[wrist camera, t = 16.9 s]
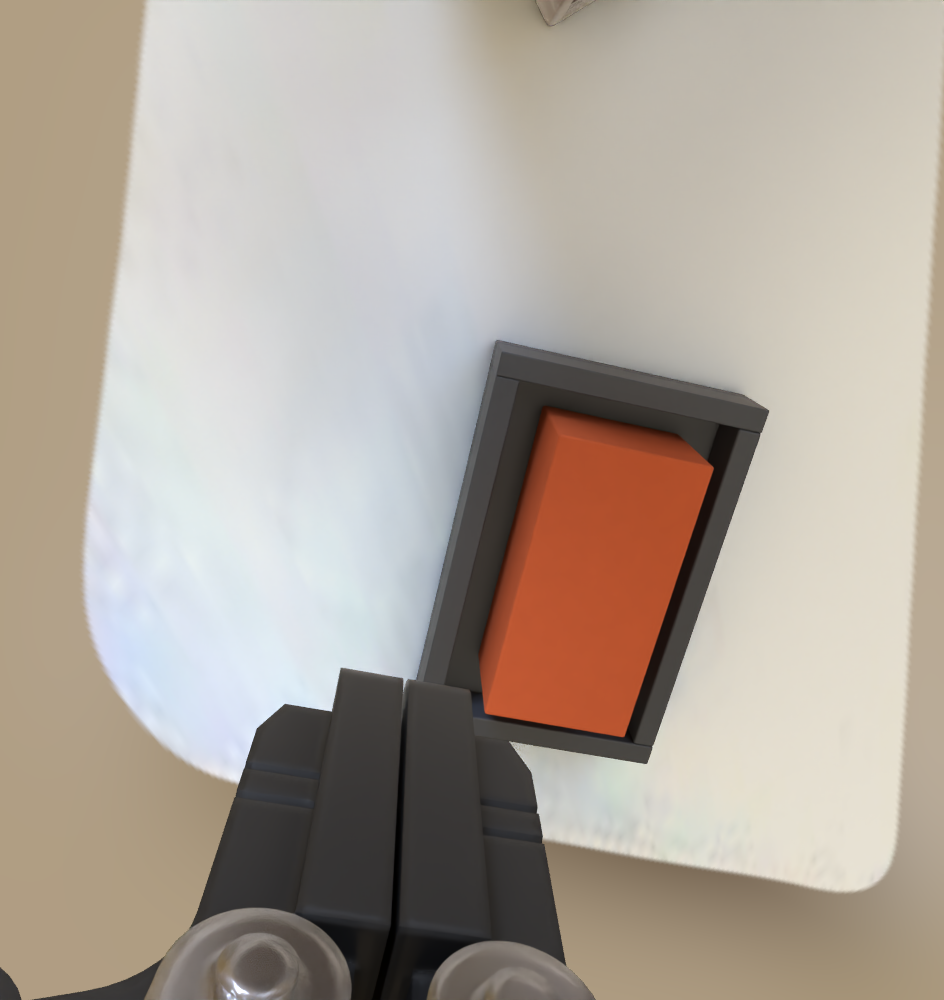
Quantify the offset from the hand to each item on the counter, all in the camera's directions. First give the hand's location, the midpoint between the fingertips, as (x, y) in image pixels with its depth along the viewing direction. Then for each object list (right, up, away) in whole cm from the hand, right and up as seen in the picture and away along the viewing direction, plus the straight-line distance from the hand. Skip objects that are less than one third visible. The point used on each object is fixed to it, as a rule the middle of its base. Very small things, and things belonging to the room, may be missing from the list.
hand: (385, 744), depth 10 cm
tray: (+5, +1, +22) cm, 23 cm away
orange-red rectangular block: (+5, +1, +21) cm, 22 cm away
